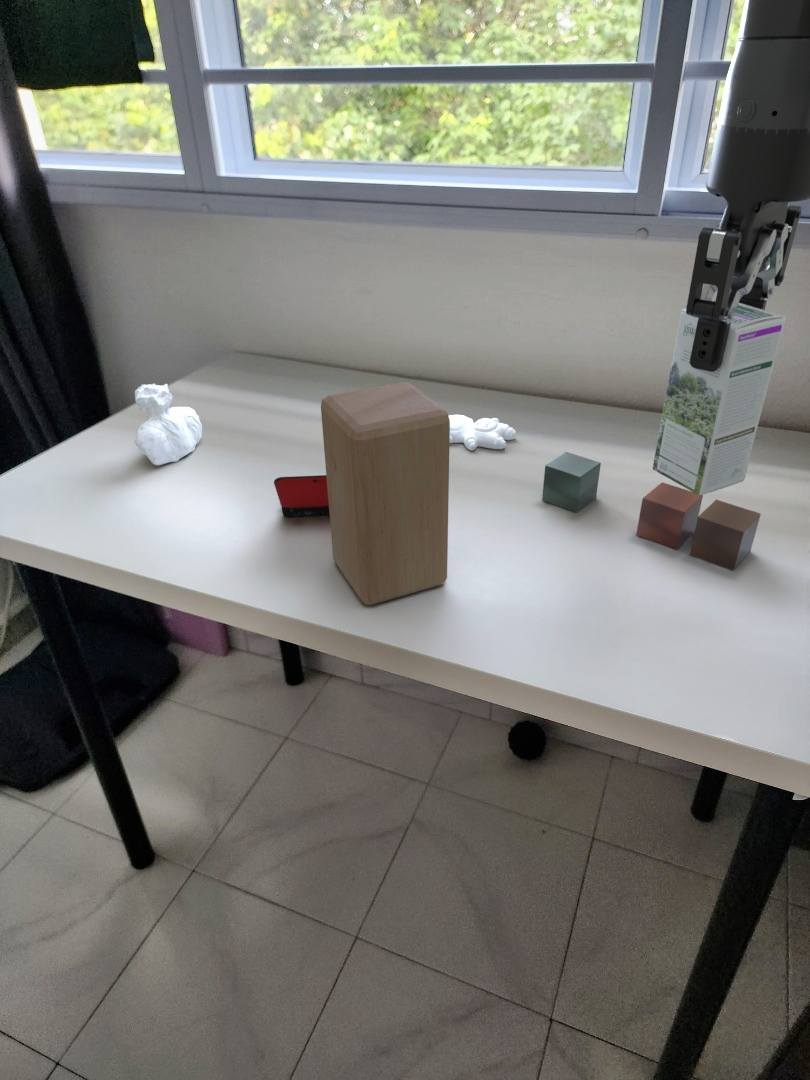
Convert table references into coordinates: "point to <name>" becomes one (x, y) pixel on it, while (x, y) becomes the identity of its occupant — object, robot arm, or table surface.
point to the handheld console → (303, 495)
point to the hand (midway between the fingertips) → (723, 355)
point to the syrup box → (717, 403)
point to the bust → (165, 426)
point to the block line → (661, 512)
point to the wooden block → (387, 489)
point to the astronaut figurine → (479, 432)
